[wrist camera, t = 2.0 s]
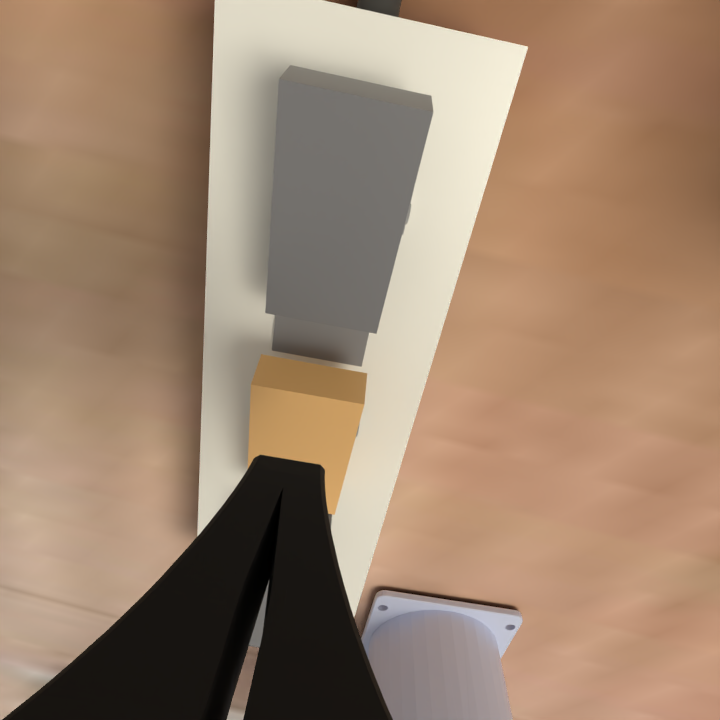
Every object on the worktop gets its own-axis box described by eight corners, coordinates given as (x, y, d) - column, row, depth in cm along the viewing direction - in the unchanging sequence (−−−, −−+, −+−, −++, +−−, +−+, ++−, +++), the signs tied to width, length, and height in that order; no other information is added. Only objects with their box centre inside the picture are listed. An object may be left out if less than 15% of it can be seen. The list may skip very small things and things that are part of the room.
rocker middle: (338, 484, 18) (334, 514, 17) (254, 470, 17) (246, 500, 16) (367, 373, 14) (364, 404, 13) (261, 354, 14) (250, 384, 13)
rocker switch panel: (356, 555, 25) (352, 638, 21) (218, 533, 25) (189, 614, 21) (578, -242, 11) (675, -399, 8) (272, -324, 11) (215, -532, 7)
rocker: (378, 307, 14) (376, 333, 13) (274, 288, 14) (265, 313, 13) (431, 95, 10) (433, 112, 9) (289, 64, 10) (278, 79, 9)
